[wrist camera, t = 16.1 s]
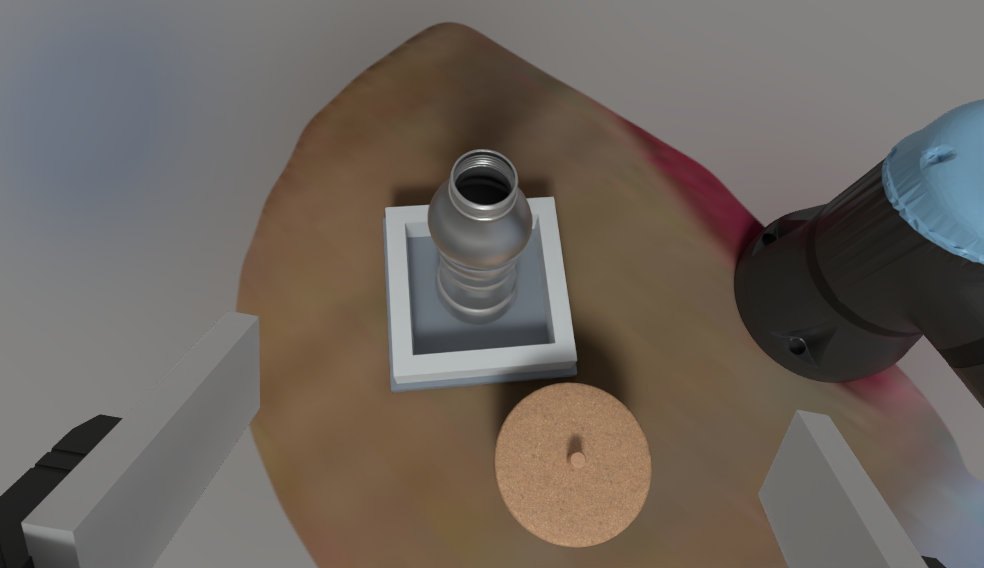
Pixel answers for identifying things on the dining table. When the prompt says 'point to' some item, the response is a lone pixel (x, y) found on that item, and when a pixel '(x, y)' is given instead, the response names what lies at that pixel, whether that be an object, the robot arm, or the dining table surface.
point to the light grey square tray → (464, 347)
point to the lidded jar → (572, 464)
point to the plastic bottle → (479, 236)
